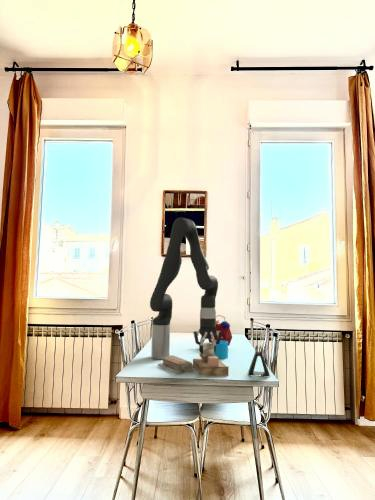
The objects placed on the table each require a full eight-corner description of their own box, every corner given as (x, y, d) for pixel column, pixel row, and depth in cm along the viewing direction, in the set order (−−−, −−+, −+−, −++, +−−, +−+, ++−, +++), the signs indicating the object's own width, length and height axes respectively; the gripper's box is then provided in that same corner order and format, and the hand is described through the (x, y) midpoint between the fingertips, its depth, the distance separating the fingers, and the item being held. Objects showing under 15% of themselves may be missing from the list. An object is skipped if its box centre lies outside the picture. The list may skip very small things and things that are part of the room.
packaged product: (196, 361, 152) (177, 364, 146) (196, 372, 151) (177, 375, 146) (175, 353, 167) (158, 355, 161) (175, 363, 166) (157, 366, 161)
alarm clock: (232, 349, 201) (232, 315, 202) (223, 351, 194) (223, 316, 196) (213, 345, 211) (213, 313, 213) (204, 347, 204) (204, 314, 206)
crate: (209, 367, 146) (209, 358, 146) (207, 365, 150) (207, 356, 150) (218, 367, 147) (218, 358, 147) (216, 365, 151) (216, 356, 151)
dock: (201, 376, 144) (201, 367, 144) (192, 365, 162) (192, 357, 163) (228, 375, 146) (228, 366, 146) (216, 364, 164) (216, 356, 165)
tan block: (203, 359, 154) (203, 345, 155) (199, 355, 162) (199, 342, 163) (215, 359, 155) (215, 345, 156) (211, 355, 163) (211, 342, 164)
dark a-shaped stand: (268, 373, 150) (268, 345, 151) (269, 376, 144) (269, 348, 146) (248, 371, 152) (248, 344, 153) (248, 375, 146) (248, 347, 147)
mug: (226, 359, 175) (226, 343, 176) (211, 358, 178) (211, 342, 178) (230, 354, 187) (230, 339, 188) (215, 353, 189) (215, 338, 190)
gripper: (194, 318, 156) (194, 355, 154) (224, 317, 158) (224, 354, 157) (191, 316, 163) (191, 352, 161) (220, 316, 165) (219, 351, 164)
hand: (207, 353), depth 159 cm, fingers closed on tan block, 5 cm apart
